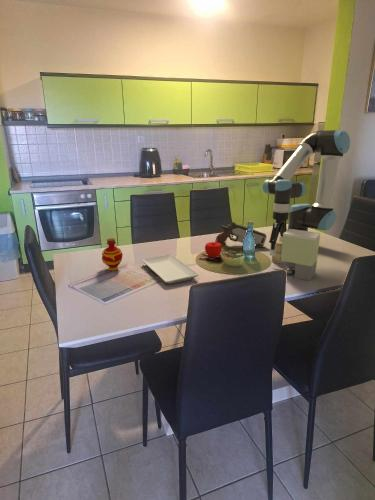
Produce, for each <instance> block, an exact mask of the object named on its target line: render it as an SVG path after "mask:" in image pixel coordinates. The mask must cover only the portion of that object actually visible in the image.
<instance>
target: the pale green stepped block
mask: <svg viewBox="0 0 375 500" xmlns="http://www.w3.org/2000/svg"><path fill="white" fill-rule="evenodd" d="M320 238H321V232H317V231H316V232H315V231H310V230H308V231H302V230H295V229H289V230H287V231H286V232H285V233H283V239H282V252H281V261H285V262H291V263H296V266H295V267H294V268H295V275H293V276H294V277H293V278H294V279H299V280H304V281H310V282H311V280H313V279H312V278H313V277H315V274H316V270H317V264H318V263H317V262H318V256H319V255H318V254H319V247H320Z"/></svg>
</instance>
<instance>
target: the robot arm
mask: <svg viewBox="0 0 375 500" xmlns="http://www.w3.org/2000/svg"><path fill="white" fill-rule="evenodd" d="M350 145H351V139H350V135H349V134H348V132H347V131H346V130H341V129H340V130H339V129H330V130H328V129H327V130H316V131H313V132H312V133H310V134H308V135H307V136H305V137H304V138H303V139H302V140H301V141H300V142H299V143H298V144H297V146H296V149H295V151H294V152H293V153H292V154H291V156H290V157H289V158H288V159H287V160H286V162H285V163H284V164H283V165H282V166H281V168H279V170H278V171H277V173H276V174H275V175H274V177H272V179H266V180H264V181H263V183H262V191H263V192H264V193H265V194H268V195H273V196H274V201H273V202H274V203H273V204H272V206H273V212H272V219H273V220H275V222H273V223H272V229H271V234H270V238H269V241H268V243H269V244H270V249H269V256H271V257H272V256H276V246H277V243H276V241H278V242H282V239H283V233H285V232H286V231H287V230H289V229H295V230H302V231H309V229H314V230H317V231H324V232H327V231H329V230H330V229H332V227H334V225H335V223H336V220H337V212H336V211H335V210H334V206H333V204H332V203H333V196H334V191H335V186H336V180H337V174H338V171H339V170H338V169H339V165H340V164H339V163H340V160H341V159H342V158H344V154H346V153H348V152H349V150H350ZM315 153H320V154H319V156H320V158H321V159H322V160H321V166H320V172H319V177H318V184H317V189H316V190H317V191H316V195H315V202H314V203H312V205H311V204H310V203H296V204H292V205H291V199H295V198H300V197H303V196H304V195H305V194H306V192H307V186H306V184H305V183H304V182H300V181H295V182H293V181H292V180H291V178H292V177H293V176H294V175H295V173H297V171H298V170H299V169H300V167H301V166H302V165H303V164H304V162H305V161H306V160H307V159H308V158H310V157H311V156H313V155H314V154H315ZM290 205H291V206H290ZM287 221H288V225H287ZM279 235H280V236H279ZM278 237H279V240H278Z"/></svg>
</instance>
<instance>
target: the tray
mask: <svg viewBox="0 0 375 500" xmlns="http://www.w3.org/2000/svg"><path fill="white" fill-rule="evenodd" d="M141 261H142V262H143V263H144V264H145V266H147V267H148V268H149V269H150V270H151V271H152V272H153V273H155V274H156V275H157V276H158V277H159V278H160V279H161V280H162V281H163V282H165V283H166V284H170V285H171V284H175V283H181V282H186V281H189V280H191V279H194V278H196V277H198V276H199V275H200V274H199V273H198V272H197V271H196V270H194V269H193V268H192V267H190V266H189V265H188V264H186V263H185V262H183V261H182V260H181V259H179V258H178V257H176V256H175V255H173V254H171V253H170V254H164V255H158V256H153V257H148V258H143V259H141Z"/></svg>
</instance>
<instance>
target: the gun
mask: <svg viewBox="0 0 375 500" xmlns="http://www.w3.org/2000/svg"><path fill="white" fill-rule="evenodd" d="M220 228H221V229H223V231H222V232H220V233H219V234H217V235H216V238H215V241H214V242H217V243H220V244H221V245H222V246H226V243H227V240H228V239H229V240H230V241H232V242H236V243H237V242H239V243H240V244H241V243H242V244H244V243H243V239H244V236H245V234H246V230H247V228H248V227H246V226H243V225H241V224H237V223H236V222H235V221H232V222H231V223H230V224H229V223H228V224H227V226H226V225H223V224H222V225H221V226H220ZM252 230H253V234H254V237H255V244H256V246H255V247H254V248H257V249H260V248H262V247H264V246H265V244H266V240H267V237H268V236H267V234H266V233H264V232H260V231H259V230H255V229H252ZM234 237H236V238H234Z"/></svg>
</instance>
